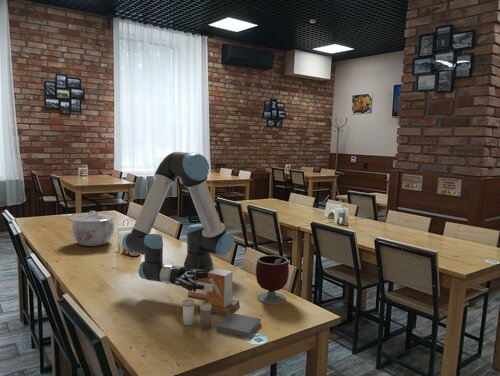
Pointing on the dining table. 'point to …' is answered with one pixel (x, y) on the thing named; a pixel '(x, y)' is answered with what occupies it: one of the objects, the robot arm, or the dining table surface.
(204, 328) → the pepper shaker
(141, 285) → the dining table surface
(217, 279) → the small box
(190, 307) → the salt shaker
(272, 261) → the mate gourd
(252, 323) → the slate coaster
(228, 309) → the walnut coaster
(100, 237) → the chamber pot
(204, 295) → the terracotta coaster
